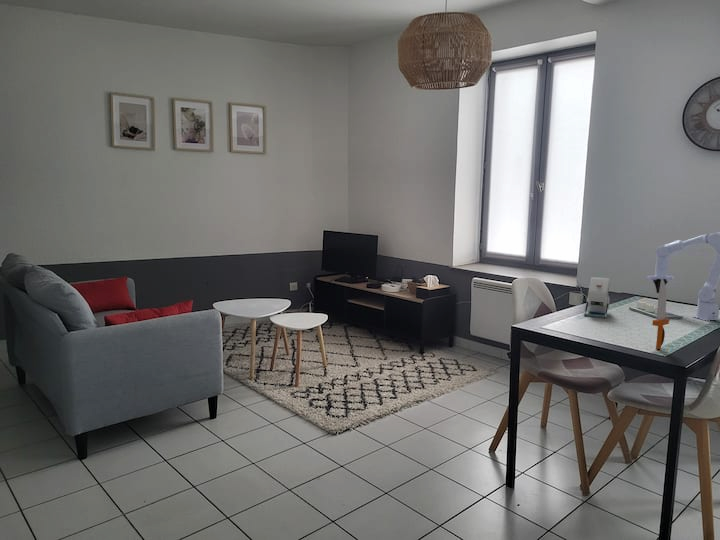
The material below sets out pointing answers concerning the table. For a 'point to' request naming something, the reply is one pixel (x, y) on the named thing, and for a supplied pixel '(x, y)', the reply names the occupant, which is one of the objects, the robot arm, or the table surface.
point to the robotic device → (598, 297)
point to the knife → (661, 315)
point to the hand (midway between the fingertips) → (659, 293)
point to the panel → (652, 314)
